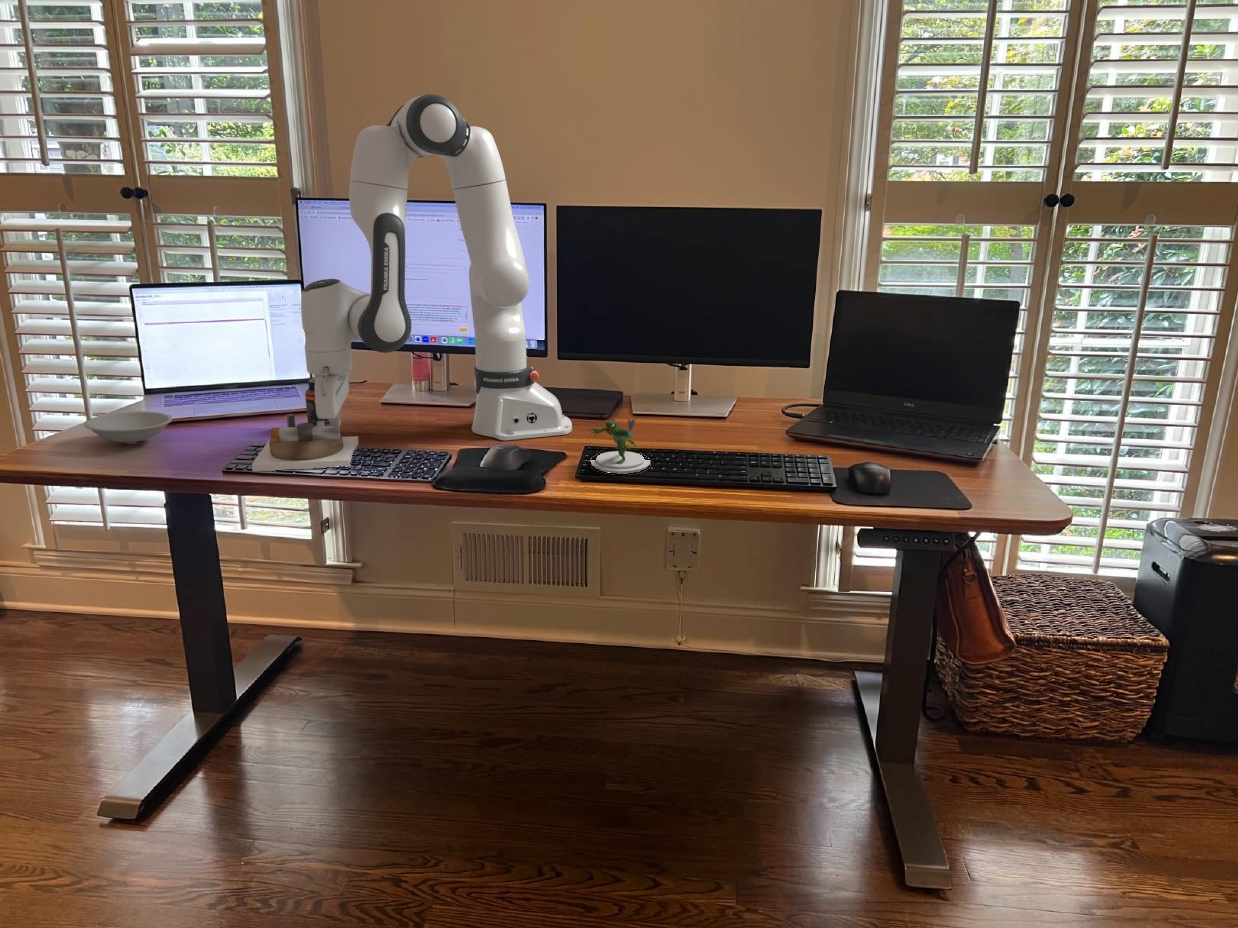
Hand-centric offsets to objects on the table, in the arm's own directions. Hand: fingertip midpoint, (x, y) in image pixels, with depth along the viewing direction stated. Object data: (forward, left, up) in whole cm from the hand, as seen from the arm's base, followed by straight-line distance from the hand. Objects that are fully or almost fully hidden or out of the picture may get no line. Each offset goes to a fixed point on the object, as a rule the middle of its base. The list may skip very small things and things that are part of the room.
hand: (335, 428), depth 181 cm
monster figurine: (-57, +17, -5) cm, 59 cm away
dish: (+43, -11, -5) cm, 45 cm away
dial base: (+5, +4, -5) cm, 8 cm away
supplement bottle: (+5, -16, -5) cm, 18 cm away
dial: (+5, +4, -3) cm, 7 cm away
